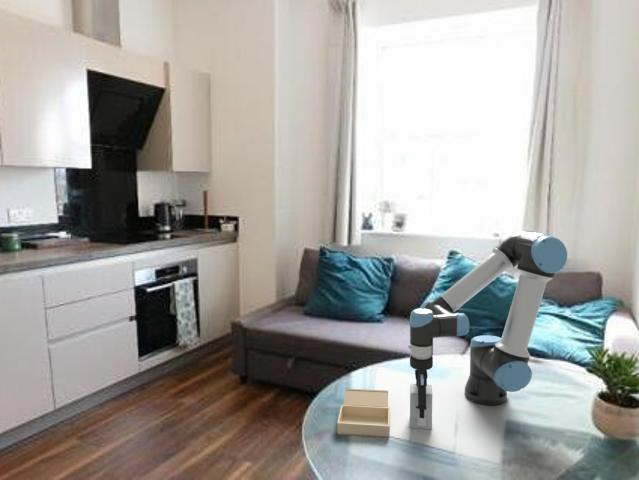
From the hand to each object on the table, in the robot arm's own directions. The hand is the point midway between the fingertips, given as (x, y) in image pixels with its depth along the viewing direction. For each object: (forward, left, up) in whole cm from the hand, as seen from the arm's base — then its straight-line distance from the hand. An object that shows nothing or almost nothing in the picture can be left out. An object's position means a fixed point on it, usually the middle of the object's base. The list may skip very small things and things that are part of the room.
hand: (420, 417), depth 163 cm
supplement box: (0, 0, -2) cm, 2 cm away
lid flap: (+19, -6, +3) cm, 20 cm away
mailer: (+19, +4, -2) cm, 20 cm away
